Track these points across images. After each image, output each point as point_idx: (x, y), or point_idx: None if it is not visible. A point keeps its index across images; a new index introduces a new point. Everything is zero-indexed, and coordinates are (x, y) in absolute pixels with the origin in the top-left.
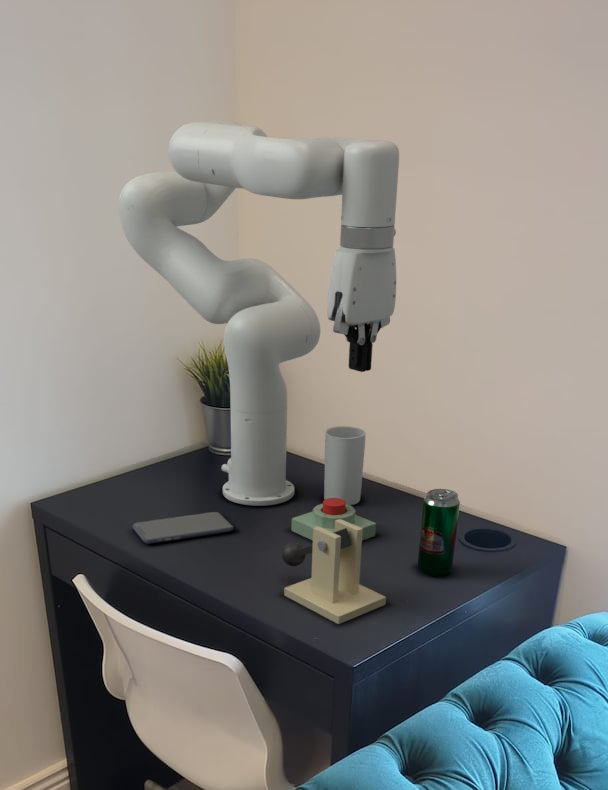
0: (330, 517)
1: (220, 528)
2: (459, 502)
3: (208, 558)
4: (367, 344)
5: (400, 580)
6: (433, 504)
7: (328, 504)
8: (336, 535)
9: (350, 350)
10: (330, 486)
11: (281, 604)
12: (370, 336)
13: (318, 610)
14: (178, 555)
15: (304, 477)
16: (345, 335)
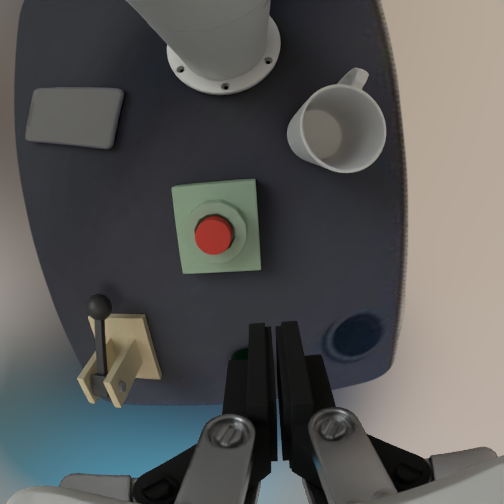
0: (192, 252)
1: (94, 145)
2: None
3: (61, 200)
4: (288, 457)
5: (204, 355)
6: None
7: (198, 240)
8: (91, 400)
9: (224, 401)
10: (289, 136)
11: (84, 322)
12: (305, 488)
13: None
14: (43, 176)
15: (327, 35)
16: (164, 467)
